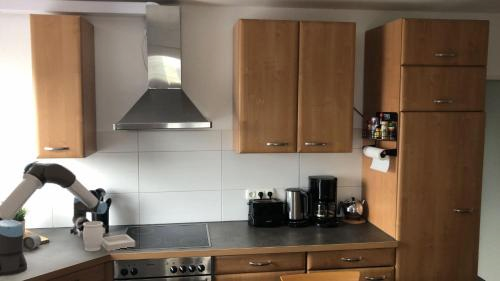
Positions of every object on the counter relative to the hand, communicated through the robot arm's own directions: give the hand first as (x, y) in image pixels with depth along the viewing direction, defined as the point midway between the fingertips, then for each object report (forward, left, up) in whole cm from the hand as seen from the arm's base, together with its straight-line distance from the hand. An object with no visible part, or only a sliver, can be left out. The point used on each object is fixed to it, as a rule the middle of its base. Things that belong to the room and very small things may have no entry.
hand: (92, 232), depth 247 cm
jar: (-1, -5, -9) cm, 10 cm away
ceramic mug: (-31, +14, -9) cm, 35 cm away
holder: (+13, -4, -8) cm, 16 cm away
